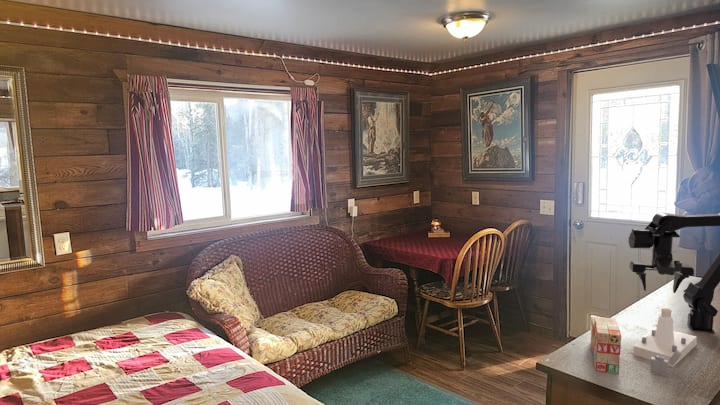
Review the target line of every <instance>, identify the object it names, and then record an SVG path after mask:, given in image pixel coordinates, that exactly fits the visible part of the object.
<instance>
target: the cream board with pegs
mask: <svg viewBox="0 0 720 405" xmlns="http://www.w3.org/2000/svg"><path fill="white" fill-rule="evenodd" d="M655 333H656V329H652V330H651V332H650V333H649V334H648V335H646V336H643V337H641V340H640V341H638V342H637V343H636V344H634V345H633V353H632V354H633V356H635V357H638V358H642V359H645V360H648V361H651V358H652V357H655V356H657V355H659V356H663V357H664V360H668V361H669V359H670V358H671V357H672V355H673V354H674V353H675V352H676V350H678V351H679V352H681V353H682V355H681V356H680V357H679V359H678V360H677V361H676V362H675V364H674V365H671V364H670V363H668V367H671V368H674V367H675V366H676V365H677V364H678V363H679V362H681V361H682V359H684V358H685V356H686V355H688V354H689V353H690V352H691V351H692V349H694V348H695V347H696V346H697V336H695V335H691V334H687V333H684V332H680V331H675V330H674V345H672V346H663V345H659V344H657V343H656V342H655V341H654V338H655Z"/></svg>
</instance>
